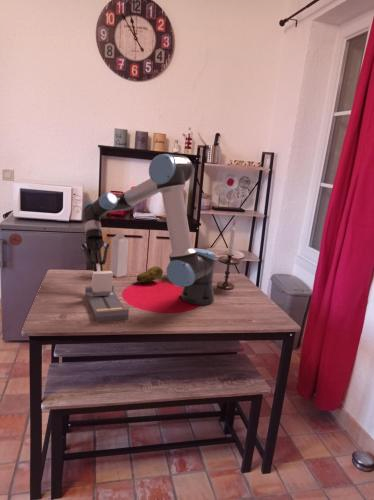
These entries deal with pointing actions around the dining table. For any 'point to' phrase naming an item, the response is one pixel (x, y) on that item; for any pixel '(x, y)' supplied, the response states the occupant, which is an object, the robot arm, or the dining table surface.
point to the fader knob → (102, 282)
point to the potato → (150, 275)
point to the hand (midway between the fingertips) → (99, 278)
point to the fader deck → (106, 306)
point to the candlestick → (228, 263)
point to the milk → (119, 255)
